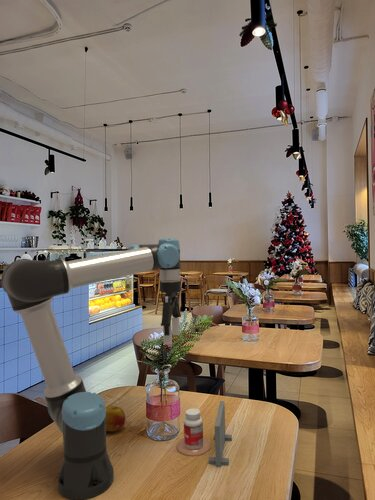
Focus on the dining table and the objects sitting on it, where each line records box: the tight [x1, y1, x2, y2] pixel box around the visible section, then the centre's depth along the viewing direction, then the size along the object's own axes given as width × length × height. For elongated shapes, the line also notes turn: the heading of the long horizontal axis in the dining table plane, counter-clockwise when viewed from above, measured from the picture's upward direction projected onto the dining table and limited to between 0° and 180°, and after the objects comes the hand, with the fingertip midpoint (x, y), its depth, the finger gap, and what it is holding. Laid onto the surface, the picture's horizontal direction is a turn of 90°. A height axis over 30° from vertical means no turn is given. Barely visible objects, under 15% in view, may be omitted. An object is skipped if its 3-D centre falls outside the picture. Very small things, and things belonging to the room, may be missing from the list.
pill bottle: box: [183, 408, 204, 450], centre depth 123 cm, size 6×6×11 cm
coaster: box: [176, 437, 212, 457], centre depth 123 cm, size 11×11×1 cm
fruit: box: [105, 405, 126, 432], centre depth 137 cm, size 10×9×8 cm
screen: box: [208, 400, 233, 468], centre depth 121 cm, size 18×6×12 cm, turn 170°
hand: (172, 339), depth 137 cm, fingers open, 13 cm apart
